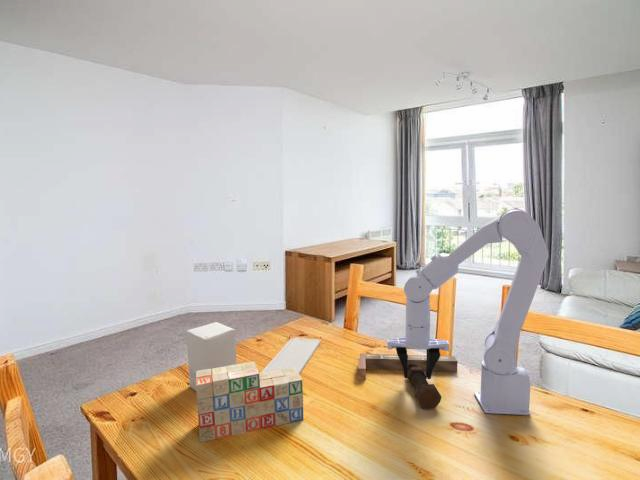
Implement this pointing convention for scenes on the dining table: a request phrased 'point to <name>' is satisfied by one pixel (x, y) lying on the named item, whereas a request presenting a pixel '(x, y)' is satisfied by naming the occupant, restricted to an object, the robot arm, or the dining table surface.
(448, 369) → the walnut fence
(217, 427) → the stack of blocks
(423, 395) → the bolt
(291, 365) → the baseboard molding
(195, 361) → the supplement box
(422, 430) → the dining table surface
